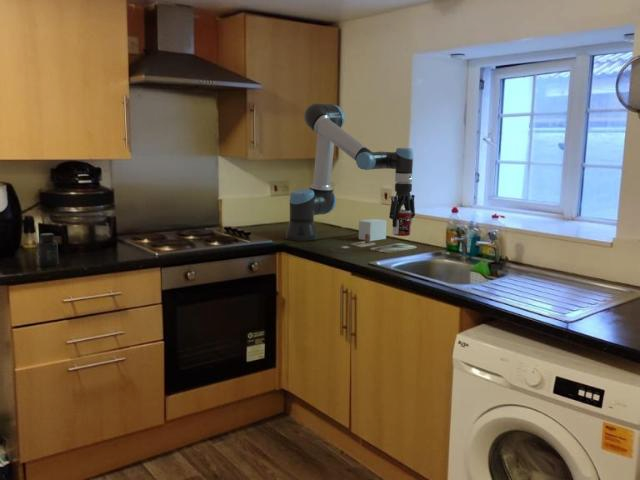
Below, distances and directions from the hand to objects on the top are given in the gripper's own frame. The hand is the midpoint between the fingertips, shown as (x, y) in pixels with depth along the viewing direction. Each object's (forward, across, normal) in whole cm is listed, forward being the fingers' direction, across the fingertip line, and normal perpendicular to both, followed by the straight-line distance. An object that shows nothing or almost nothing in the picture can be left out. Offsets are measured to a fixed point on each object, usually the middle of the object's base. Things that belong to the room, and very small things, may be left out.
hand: (401, 233), depth 277 cm
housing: (+7, +7, +24) cm, 26 cm away
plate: (+7, -9, +15) cm, 19 cm away
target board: (+7, -5, 0) cm, 8 cm away
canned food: (+1, 0, 0) cm, 1 cm away
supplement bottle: (+7, -135, +59) cm, 148 cm away
